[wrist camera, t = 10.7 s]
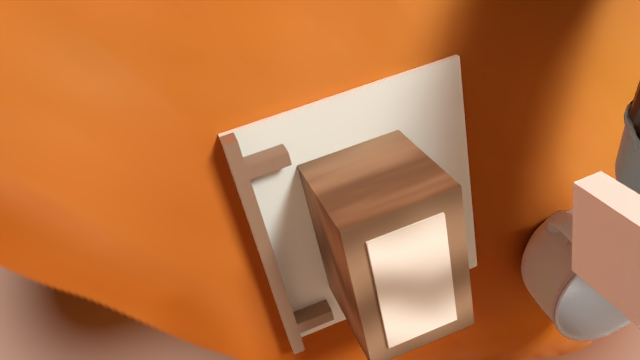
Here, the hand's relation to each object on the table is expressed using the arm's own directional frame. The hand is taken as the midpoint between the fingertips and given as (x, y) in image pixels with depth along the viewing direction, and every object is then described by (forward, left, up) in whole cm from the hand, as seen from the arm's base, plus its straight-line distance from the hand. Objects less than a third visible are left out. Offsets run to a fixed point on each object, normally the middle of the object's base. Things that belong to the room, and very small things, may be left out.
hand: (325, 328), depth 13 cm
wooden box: (-9, +17, -26) cm, 32 cm away
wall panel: (-9, +17, -27) cm, 33 cm away
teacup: (-26, +27, -27) cm, 46 cm away
